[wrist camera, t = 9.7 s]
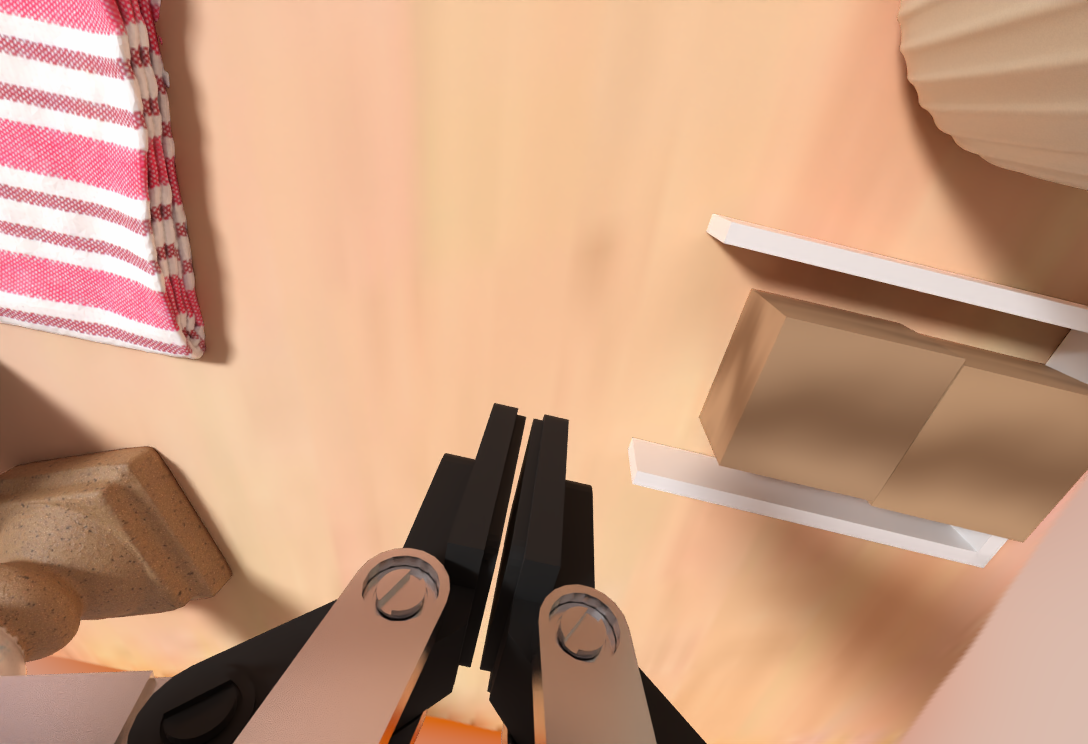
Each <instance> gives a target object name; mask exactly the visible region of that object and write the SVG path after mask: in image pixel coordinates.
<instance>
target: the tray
mask: <svg viewBox="0 0 1088 744" xmlns="http://www.w3.org/2000/svg"><path fill="white" fill-rule="evenodd" d="M706 232H707V233H709V234H710V235H712V236H713V237H715V238H716V239H718V240H720V241H721V242H723V243H725V244H730V245H734V246H738V247H742V248H746V249H750V250H754V251H758V252H762V253H766V254H770V255H774V256H778V257H782V258H786V259H790V260H794V261H798V262H803V263H807V264H811V265H815V266H819V267H823V268H827V269H831V270H835V271H839V272H843V273H847V274H851V275H855V276H859V277H863V278H867V279H872V280H876V281H880V282H884V283H888V284H892V285H896V286H900V287H904V288H908V289H912V290H916V291H920V292H924V293H928V294H932V295H936V296H941V297H945V298H949V299H953V300H957V301H961V302H965V303H969V304H973V305H977V306H981V307H985V308H989V309H993V310H997V311H1001V312H1005V313H1009V314H1014V315H1018V316H1022V317H1026V318H1030V319H1034V320H1038V321H1042V322H1046V323H1050V324H1054V325H1058V326H1062V327H1066V328H1070V329H1071V331H1070V332H1069V333H1068V335H1067V336H1066V337H1065V339H1064V340H1063V341H1062V343H1061V344H1060V345H1059V347H1058V348H1057V349H1056V351H1055V352H1054V353H1053V355H1052V356H1051V357H1050V359H1049V360H1048V362H1047V363H1046V364H1045V365H1047V366H1049V367H1051V368H1053V369H1055V370H1057V371H1060V372H1062V373H1064V374H1066V375H1068V376H1070V377H1073V378H1075V379H1077V380H1079V381H1081V382H1083V383H1086V384H1088V306H1086V305H1082V304H1078V303H1074V302H1070V301H1066V300H1062V299H1058V298H1053V297H1049V296H1045V295H1041V294H1037V293H1033V292H1029V291H1025V290H1021V289H1017V288H1013V287H1009V286H1005V285H1001V284H997V283H993V282H989V281H985V280H981V279H977V278H973V277H968V276H964V275H960V274H956V273H952V272H948V271H944V270H940V269H936V268H932V267H928V266H924V265H920V264H916V263H912V262H908V261H904V260H900V259H896V258H892V257H888V256H884V255H879V254H875V253H871V252H867V251H863V250H859V249H855V248H851V247H847V246H843V245H839V244H835V243H831V242H827V241H823V240H819V239H815V238H811V237H807V236H803V235H799V234H794V233H790V232H786V231H782V230H778V229H774V228H770V227H766V226H762V225H758V224H754V223H750V222H746V221H742V220H738V219H734V218H730V217H726V216H722V215H718V214H714V213H713V214H712V217H711V220H710V223H709V225H708V228H707V231H706ZM628 454H629V462H630V469H631V477H632V484H635V485H639V486H643V487H648V488H652V489H656V490H660V491H664V492H668V493H673V494H677V495H681V496H685V497H689V498H693V499H698V500H702V501H706V502H710V503H714V504H718V505H723V506H727V507H731V508H735V509H739V510H743V511H748V512H752V513H756V514H760V515H764V516H768V517H773V518H777V519H781V520H785V521H789V522H794V523H798V524H802V525H806V526H810V527H814V528H819V529H823V530H827V531H831V532H835V533H839V534H844V535H848V536H852V537H856V538H860V539H864V540H869V541H873V542H877V543H881V544H885V545H889V546H894V547H898V548H902V549H906V550H910V551H914V552H919V553H923V554H927V555H931V556H935V557H939V558H944V559H948V560H952V561H956V562H960V563H964V564H969V565H973V566H977V567H981V568H984V567H985V566H986V564H987V563H988V562H989V561H990V560H991V559H992V557H993V556H994V555H995V554H996V553H997V552H998V550H999V549H1000V548H1001V547H1002V546H1003V544H1004V543H1005V542H1006V541H1007V540H1008V539H1006V538H1002V537H998V536H994V535H990V534H986V533H982V532H977V531H973V530H969V529H965V528H961V527H957V526H953V525H948V524H944V523H940V522H936V521H932V520H928V519H924V518H920V517H915V516H911V515H907V514H903V513H899V512H895V511H891V510H886V509H882V508H878V507H874V506H871V505H870V504H869V503H868V501H867V500H865V499H861V498H856V497H852V496H848V495H844V494H839V493H835V492H831V491H826V490H822V489H818V488H813V487H809V486H805V485H801V484H796V483H792V482H788V481H783V480H779V479H775V478H770V477H766V476H762V475H758V474H753V473H749V472H745V471H740V470H736V469H732V468H728V467H723V466H719V464H718V462H717V459H716V457H711V456H707V455H703V454H699V453H695V452H691V451H687V450H682V449H678V448H674V447H670V446H666V445H662V444H658V443H653V442H649V441H645V440H641V439H637V438H633V437H632V440H631V442H630V445H629V448H628Z"/></svg>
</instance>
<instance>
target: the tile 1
mask: <svg viewBox="0 0 1088 744" xmlns="http://www.w3.org/2000/svg"><path fill="white" fill-rule="evenodd" d="M965 360H966V359H965V358H963V357H961V356H959V355H958V354H956V353H954V352H952V351H950V350H948V349H946V348H945V347H943V346H941V345H939V344H937V343H935V342H933V341H932V340H930V339H928V338H926V337H924V336H922V335H920V334H919V333H917V332H915V331H913V330H911V329H909V328H907V327H906V326H904V325H902V324H900V323H897V322H892V321H888V320H884V319H880V318H875V317H871V316H867V315H863V314H858V313H854V312H850V311H846V310H841V309H837V308H833V307H829V306H824V305H820V304H816V303H812V302H807V301H803V300H799V299H795V298H790V297H786V296H782V295H778V294H773V293H769V292H765V291H761V290H756V289H751V291H750V294H749V296H748V298H747V301H746V303H745V306H744V308H743V311H742V313H741V316H740V318H739V320H738V323H737V325H736V328H735V330H734V333H733V335H732V338H731V340H730V342H729V345H728V347H727V350H726V352H725V355H724V357H723V360H722V362H721V364H720V367H719V369H718V372H717V374H716V377H715V379H714V382H713V384H712V386H711V389H710V391H709V394H708V396H707V399H706V401H705V404H704V406H703V408H702V411H701V413H700V416H699V418H700V421H701V423H702V426H703V428H704V430H705V433H706V435H707V438H708V440H709V442H710V445H711V447H712V450H713V452H714V455H715V457H716V459H717V462H718V464H719V466H723V467H728V468H732V469H736V470H740V471H745V472H749V473H753V474H758V475H762V476H766V477H770V478H775V479H779V480H783V481H788V482H792V483H796V484H801V485H805V486H809V487H813V488H818V489H822V490H826V491H831V492H835V493H839V494H844V495H848V496H852V497H856V498H861V499H865V500H869V501H874V500H875V499H876V497H877V496H878V494H879V493H880V491H881V489H882V488H883V486H884V485H885V483H886V482H887V480H888V479H889V477H890V476H891V474H892V473H893V471H894V469H895V468H896V466H897V465H898V463H899V462H900V460H901V459H902V457H903V456H904V454H905V452H906V451H907V449H908V448H909V446H910V445H911V443H912V442H913V440H914V439H915V437H916V436H917V434H918V432H919V431H920V429H921V428H922V426H923V425H924V423H925V422H926V420H927V419H928V417H929V416H930V414H931V412H932V411H933V409H934V408H935V406H936V405H937V403H938V402H939V400H940V399H941V397H942V395H943V394H944V392H945V391H946V389H947V388H948V386H949V385H950V383H951V382H952V380H953V379H954V377H955V375H956V374H957V372H958V371H959V369H960V368H961V366H962V365H963V363H964V362H965Z"/></svg>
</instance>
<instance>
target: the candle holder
mask: <svg viewBox="0 0 1088 744" xmlns="http://www.w3.org/2000/svg"><path fill="white" fill-rule="evenodd" d="M231 576H232V573H231V570H230V568H229V566H228V565H227V563H226V561H225V559H224V557H223V556H222V554H221V552H220V551H219V549H218V547H217V546H216V544H215V543H214V541H213V539H212V538H211V536H210V535H209V533H208V531H207V530H206V528H205V527H204V525H203V523H202V522H201V520H200V518H199V517H198V515H197V514H196V512H195V510H194V509H193V507H192V506H191V504H190V502H189V501H188V499H187V498H186V496H185V494H184V493H183V491H182V490H181V488H180V486H179V485H178V483H177V481H176V480H175V478H174V477H173V475H172V473H171V472H170V470H169V469H168V467H167V466H166V464H165V463H164V462H163V460H162V459H161V457H160V456H159V454H158V453H157V452H156V451H155V450H154V449H153V448H151V447H147V446H145V447H134V448H125V449H118V450H112V451H105V452H98V453H92V454H85V455H79V456H72V457H65V458H59V459H52V460H46V461H39V462H33V463H28V464H24V465H19V466H16V467H14V468H12V469H11V470H9V471H7V472H5V473H3V474H1V475H0V676H23V675H27V669H26V664H25V662H29V661H33V660H38V659H41V658H44V657H47V656H49V655H52V654H53V653H55V652H57V651H59V650H60V649H62V648H63V647H64V646H66V645H67V644H68V643H69V642H70V641H71V640H72V638H73V637H74V636H75V635H76V633H77V631H78V628H79V625H80V620H99V619H105V618H114V617H126V616H135V615H144V614H154V613H162V612H167V611H172V610H175V609H178V608H180V607H183V606H185V605H186V603H187V602H188V601H191V600H198V599H204V598H210V597H213V596H215V594H216V593H217V592H218V591H219V590H220V589H221V588H222V587H223V585H224V584H225V583H226V582H227V581H228V580H229V579H230V577H231Z"/></svg>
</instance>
